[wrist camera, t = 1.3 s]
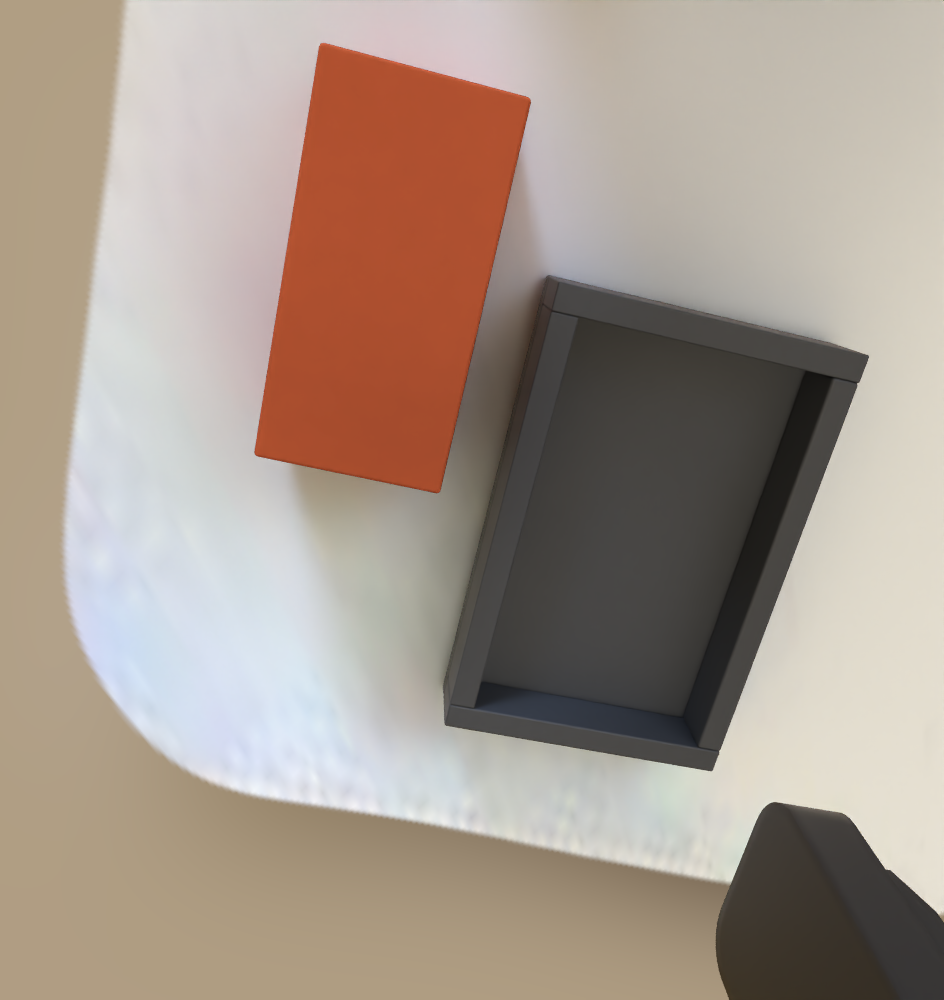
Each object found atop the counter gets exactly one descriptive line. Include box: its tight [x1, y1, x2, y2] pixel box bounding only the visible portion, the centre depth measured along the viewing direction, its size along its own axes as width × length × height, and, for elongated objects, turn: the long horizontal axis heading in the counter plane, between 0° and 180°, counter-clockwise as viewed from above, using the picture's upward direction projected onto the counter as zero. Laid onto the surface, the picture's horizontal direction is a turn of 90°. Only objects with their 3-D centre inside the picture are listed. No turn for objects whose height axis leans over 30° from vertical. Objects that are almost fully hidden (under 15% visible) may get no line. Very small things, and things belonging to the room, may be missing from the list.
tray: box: [443, 275, 869, 771], centre depth 27 cm, size 14×9×2 cm, turn 167°
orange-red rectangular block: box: [254, 43, 531, 493], centre depth 23 cm, size 10×5×4 cm, turn 167°
